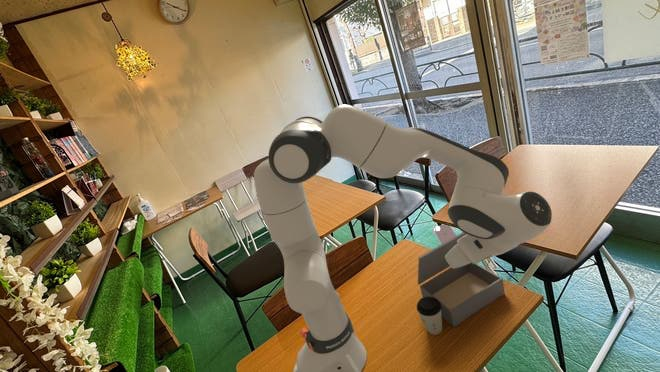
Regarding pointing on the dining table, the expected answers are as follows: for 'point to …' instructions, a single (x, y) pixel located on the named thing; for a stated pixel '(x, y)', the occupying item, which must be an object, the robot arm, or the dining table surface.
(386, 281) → the dining table surface
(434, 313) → the coffee cup
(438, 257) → the mailer lid
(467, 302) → the mailer box
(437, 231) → the mobile phone
